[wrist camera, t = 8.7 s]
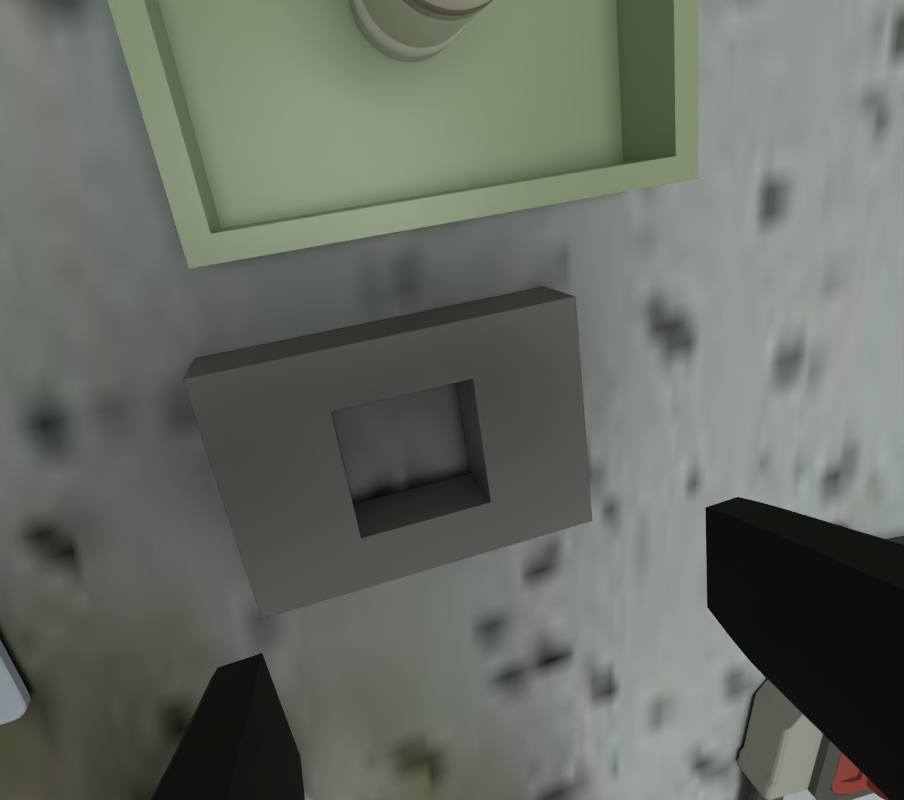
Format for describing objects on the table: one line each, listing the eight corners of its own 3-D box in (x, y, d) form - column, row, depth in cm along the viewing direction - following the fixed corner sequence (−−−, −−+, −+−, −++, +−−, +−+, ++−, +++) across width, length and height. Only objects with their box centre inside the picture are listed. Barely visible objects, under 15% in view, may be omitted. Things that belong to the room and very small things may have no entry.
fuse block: (263, 576, 18) (261, 618, 16) (194, 358, 16) (183, 379, 14) (563, 491, 20) (592, 520, 18) (544, 286, 18) (575, 296, 16)
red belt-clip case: (777, 528, 24) (704, 874, 30) (879, 595, 20) (769, 978, 26) (943, 502, 26) (842, 830, 32) (1064, 558, 22) (922, 919, 28)
